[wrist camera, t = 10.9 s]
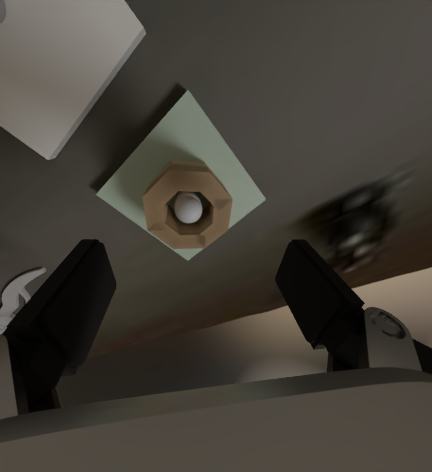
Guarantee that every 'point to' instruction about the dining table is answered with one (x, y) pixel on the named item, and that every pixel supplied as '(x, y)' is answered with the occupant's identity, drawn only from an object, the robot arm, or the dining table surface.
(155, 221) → the collar
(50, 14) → the stand
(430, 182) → the dining table surface
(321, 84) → the dining table surface
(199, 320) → the dining table surface
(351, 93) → the dining table surface
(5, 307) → the pliers
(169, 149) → the plate
